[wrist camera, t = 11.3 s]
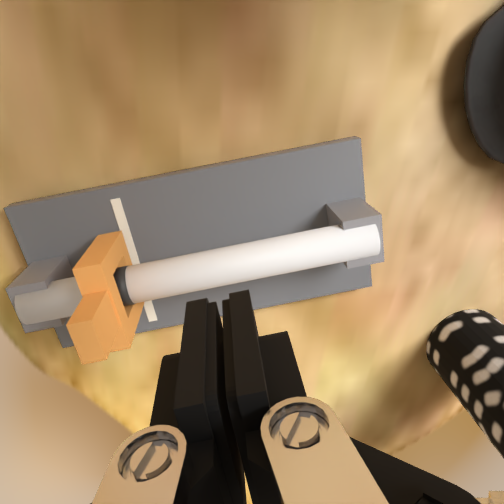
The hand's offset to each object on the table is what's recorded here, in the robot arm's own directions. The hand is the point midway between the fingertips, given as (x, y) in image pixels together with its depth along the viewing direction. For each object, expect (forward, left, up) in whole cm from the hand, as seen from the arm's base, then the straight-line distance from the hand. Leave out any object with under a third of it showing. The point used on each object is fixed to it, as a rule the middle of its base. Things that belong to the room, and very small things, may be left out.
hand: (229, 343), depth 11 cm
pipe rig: (+3, +7, -27) cm, 28 cm away
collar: (+10, +7, -25) cm, 27 cm away
